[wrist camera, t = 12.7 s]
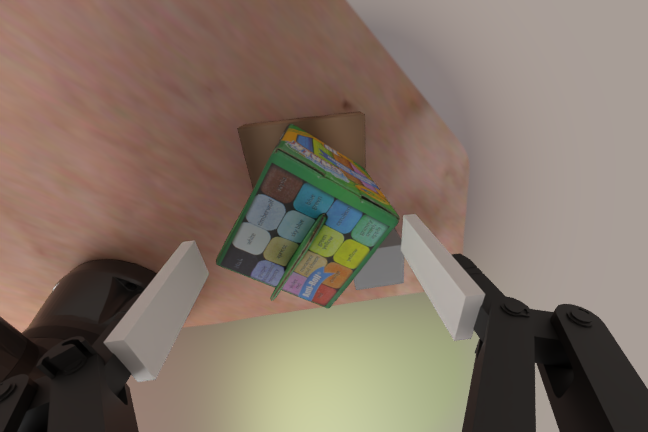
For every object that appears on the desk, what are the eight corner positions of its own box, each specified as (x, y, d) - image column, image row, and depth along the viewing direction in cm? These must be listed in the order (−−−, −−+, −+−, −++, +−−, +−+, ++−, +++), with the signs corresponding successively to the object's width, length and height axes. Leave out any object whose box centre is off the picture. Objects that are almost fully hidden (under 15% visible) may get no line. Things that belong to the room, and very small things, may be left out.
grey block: (350, 264, 34) (356, 290, 30) (345, 229, 32) (351, 252, 27) (391, 257, 34) (403, 283, 30) (391, 222, 31) (404, 244, 27)
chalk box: (322, 232, 28) (333, 355, 15) (249, 196, 26) (189, 309, 13) (368, 167, 25) (433, 255, 12) (289, 118, 22) (262, 163, 9)
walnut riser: (268, 224, 30) (264, 234, 28) (243, 124, 25) (237, 128, 22) (361, 213, 30) (366, 223, 28) (359, 111, 25) (364, 114, 22)
